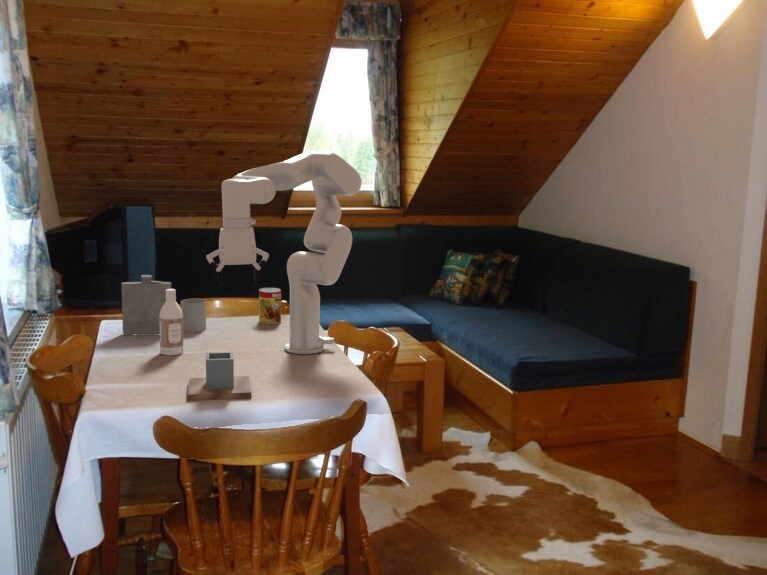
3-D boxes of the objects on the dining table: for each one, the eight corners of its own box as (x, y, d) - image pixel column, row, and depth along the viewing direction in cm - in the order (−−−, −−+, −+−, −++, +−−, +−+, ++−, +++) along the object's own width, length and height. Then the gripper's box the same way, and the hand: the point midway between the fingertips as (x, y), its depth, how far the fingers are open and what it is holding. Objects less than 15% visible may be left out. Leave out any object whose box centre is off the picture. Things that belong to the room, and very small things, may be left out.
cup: (211, 328, 267) (210, 301, 266) (193, 333, 261) (193, 304, 259) (193, 325, 272) (193, 297, 270) (176, 329, 265) (175, 301, 263)
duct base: (248, 381, 211) (248, 355, 210) (251, 397, 198) (251, 370, 196) (189, 383, 208) (188, 356, 206) (187, 400, 194) (187, 372, 193)
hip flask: (122, 335, 255) (120, 276, 251) (123, 332, 258) (122, 274, 255) (171, 334, 258) (170, 276, 254) (172, 331, 262) (171, 274, 258)
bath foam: (164, 357, 231) (162, 292, 228) (157, 351, 237) (155, 288, 233) (186, 354, 235) (185, 290, 231) (179, 349, 241) (178, 286, 237)
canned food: (279, 324, 277) (279, 292, 275) (257, 323, 277) (257, 291, 275) (282, 319, 285) (282, 288, 282) (261, 318, 285) (261, 287, 282)
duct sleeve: (232, 380, 207) (232, 351, 205) (233, 388, 200) (233, 359, 199) (206, 381, 205) (206, 352, 204) (206, 389, 198) (205, 359, 197)
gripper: (266, 221, 218) (268, 279, 222) (204, 222, 214) (207, 282, 218) (269, 225, 211) (270, 285, 215) (205, 226, 207) (207, 288, 210)
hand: (238, 283), depth 216 cm, fingers open, 9 cm apart
